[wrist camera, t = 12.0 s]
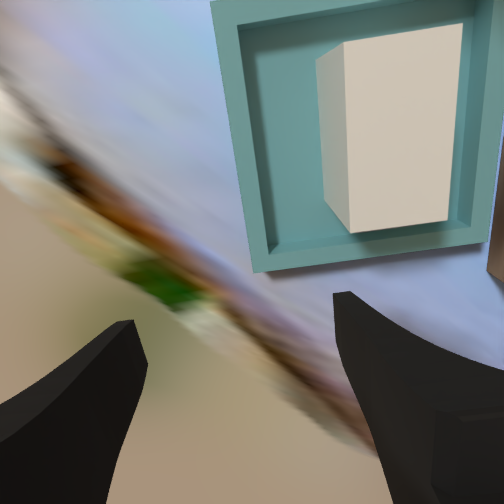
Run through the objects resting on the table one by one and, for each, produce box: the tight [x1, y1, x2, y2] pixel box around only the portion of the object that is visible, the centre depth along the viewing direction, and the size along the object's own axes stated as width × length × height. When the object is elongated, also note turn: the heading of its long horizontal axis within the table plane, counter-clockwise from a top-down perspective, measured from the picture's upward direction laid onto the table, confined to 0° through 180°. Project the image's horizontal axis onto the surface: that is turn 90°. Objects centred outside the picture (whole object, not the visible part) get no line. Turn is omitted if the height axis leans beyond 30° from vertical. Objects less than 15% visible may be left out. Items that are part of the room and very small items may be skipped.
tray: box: [210, 0, 504, 273], centre depth 18 cm, size 13×13×2 cm
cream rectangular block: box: [315, 23, 463, 233], centre depth 16 cm, size 8×4×6 cm, turn 8°
